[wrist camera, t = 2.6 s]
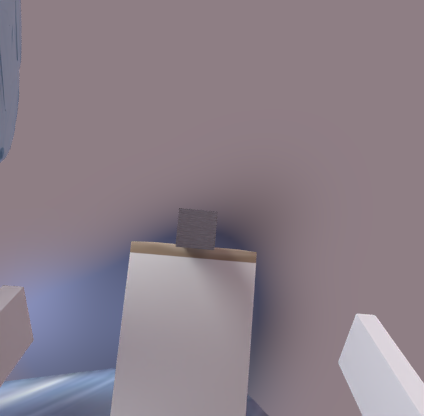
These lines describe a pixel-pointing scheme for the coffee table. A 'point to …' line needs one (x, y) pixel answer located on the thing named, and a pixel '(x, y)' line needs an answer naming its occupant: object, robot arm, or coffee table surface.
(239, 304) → the pedestal
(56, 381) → the coffee table surface
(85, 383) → the coffee table surface
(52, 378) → the coffee table surface
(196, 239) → the metal bar
